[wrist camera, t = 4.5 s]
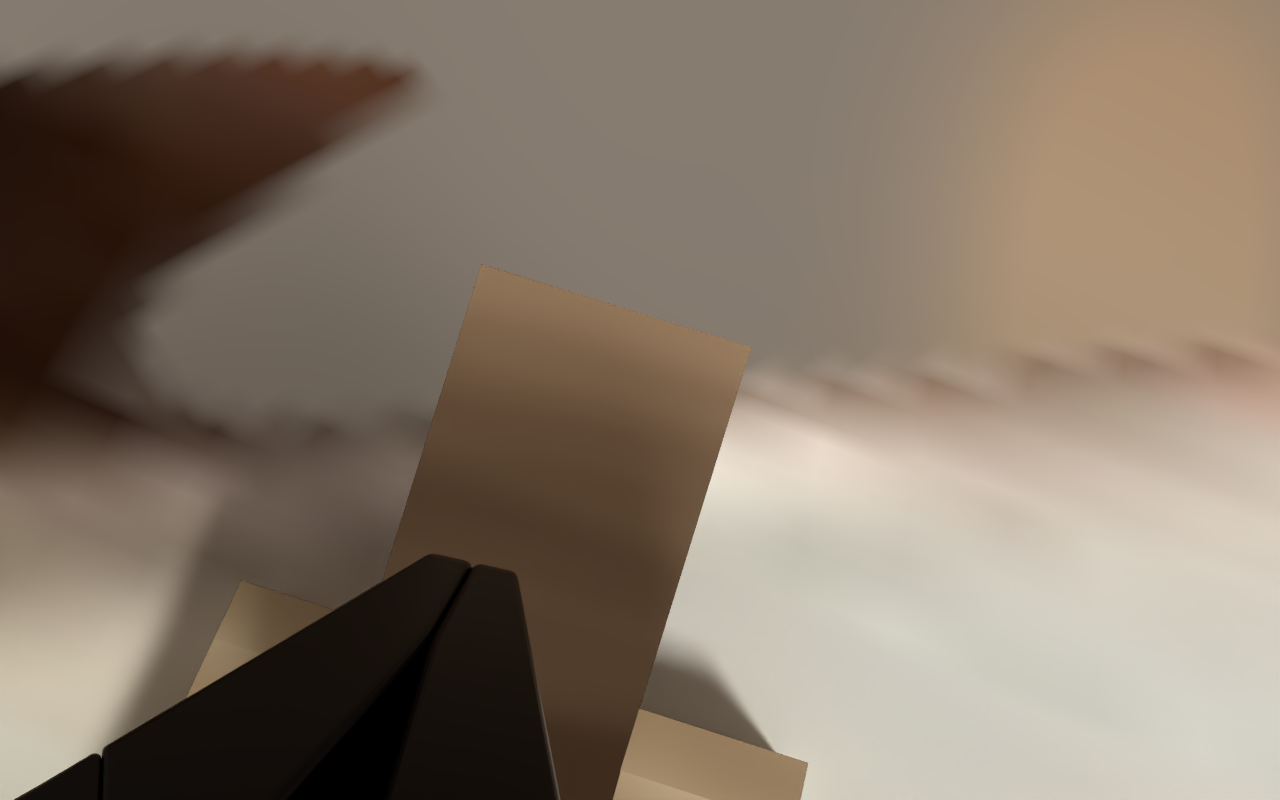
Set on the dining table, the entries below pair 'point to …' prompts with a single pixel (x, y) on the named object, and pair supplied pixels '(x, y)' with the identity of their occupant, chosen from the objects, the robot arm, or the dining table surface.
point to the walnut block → (574, 491)
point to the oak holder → (656, 754)
